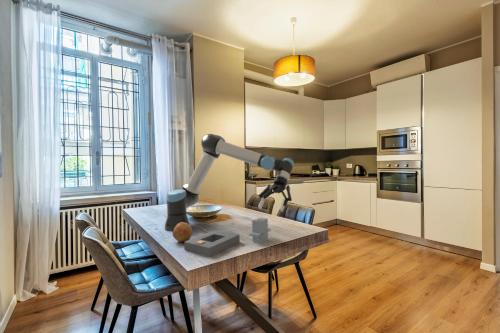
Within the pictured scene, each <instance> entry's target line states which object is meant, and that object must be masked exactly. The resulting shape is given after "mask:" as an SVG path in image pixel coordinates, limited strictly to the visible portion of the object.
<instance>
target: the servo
mask: <svg viewBox="0 0 500 333" xmlns="http://www.w3.org/2000/svg"><path fill="white" fill-rule="evenodd" d="M268 220H269V219H268V218H265V217H256V218H255V219H253V220H252V221H251V222H252V223H251V224H252V226H251V227H252V229H251V230H252V232H250V233H248V236H249V237H252V243H257V244H263V243H265V242H266V241H268V240H269V232H271V228H269V227H268V226H269V222H268Z"/></svg>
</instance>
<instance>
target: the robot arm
mask: <svg viewBox="0 0 500 333" xmlns="http://www.w3.org/2000/svg"><path fill="white" fill-rule="evenodd" d="M201 148H202V156H201V157H200V159H199V161H198V163H197V164H196V167H195V168H194V171H193V172H192V175H191V176H190V177H189V180H188V182H187V183H186V184H183V187H182V189H173V190H170V191H168V192H167V194H166V208H167V209H166V212H167V215H166V216H167V217H166V220H165V224H164V230H165V231H170V232H173V231H174V228H175V227H176V225H177V224H179V223H181V222H184V223H187V224H189V225H190V224H191V223H190V221H189V218H188V217H189V216H188V214H187V208H190V207H192V206H194V205H195V204H196V203H197V202H198V201H199V195H200V192H201V191H200V188H201V186H202V184H203V182H204V181H205V178H206V177H207V175H208V173H209V171H210V170H211V168H212V165H213V163H214V162H215V160H217V159H219V157H220V155H223V156H225V157H226V156H227V157H230V158H232V159H235V160H238V161H241V162H244V163H247V164H249V165H253V166H256V167H259V168H261V169H263V170H265V171H270V170H273V171H276V172H277V174H276V176H275V178H274V181H273V184H272V185H271V184H267V186H266V188H264V189H263V190H262V191H261V193H259V194H258V197H259V202H258V206H257V208H258V209H259V210H262V208H263V206H264V204H265V201H266V199H267V198H268V197H270V196H271V195H274V194H281V195H282V196H283V200H282V201H281V203H280V207H279V210H280V213H281V212H282V213H283V212H284V209H285V207H286V206H287V204H288V202H292V200H293V199H292V196H291V187H290V185H289V184H288V182H289V179H290V176H291V175H292V172H293V170H294V165H295V162H294V160H293V159H292V158H290V157H285V158H283V159H279V158H276V157H275V156H271V155H266V154H261V153H259V152H256V151H253V150H250V149H247V148H245V147H241V146H238V145H235V144H232V143H229V142H227V141H226V139H225V138H223V137H222V136H221V135H218V134H213V133H208V134H206V135H205V134H204V135H203V137H202V139H201ZM287 184H288V185H287ZM285 190H286V193H287V195H286V193H285V192H284V191H285ZM190 226H191V225H190Z"/></svg>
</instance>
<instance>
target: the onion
mask: <svg viewBox="0 0 500 333" xmlns="http://www.w3.org/2000/svg"><path fill="white" fill-rule="evenodd" d="M172 235H173V238H174V239H175V240H176V241H177V242H179V243H184V242H185V241H188V240H191V237H192V235H193V228H192V226H191V225H189V224H187V223H184V222H181V223H179V224H177V225H176V227H175V228H174V231H172Z"/></svg>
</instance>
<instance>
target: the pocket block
mask: <svg viewBox="0 0 500 333" xmlns="http://www.w3.org/2000/svg"><path fill="white" fill-rule="evenodd" d="M240 239H241V237H240V234H239V233H234V232H227V231H223V230H222V231H221V230H217V229H215V230H212V231H210V232H206V233H205V234H202V235H199V236H196V237H194V238H190V239H189V240H188V241H184V242H183V243H184V251H187V252H191V253H194V254H197V255H202V256H203V257H204V256H205V257H209V258H211V257H213V256H215V255H217V254H219V253H221V252H222V251H225V250H227V249H229V248H231V247H233V246H235V245H237V244H239V243H241V242H240V241H241V240H240Z"/></svg>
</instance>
